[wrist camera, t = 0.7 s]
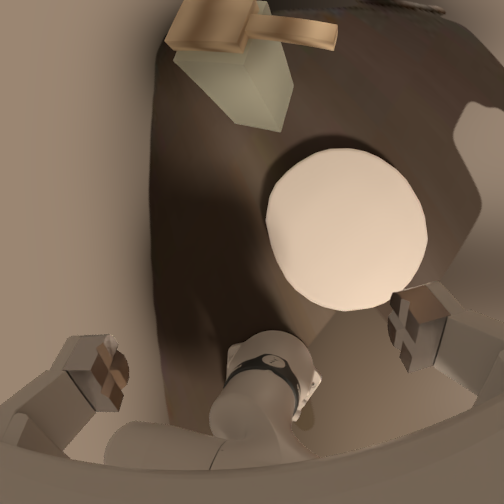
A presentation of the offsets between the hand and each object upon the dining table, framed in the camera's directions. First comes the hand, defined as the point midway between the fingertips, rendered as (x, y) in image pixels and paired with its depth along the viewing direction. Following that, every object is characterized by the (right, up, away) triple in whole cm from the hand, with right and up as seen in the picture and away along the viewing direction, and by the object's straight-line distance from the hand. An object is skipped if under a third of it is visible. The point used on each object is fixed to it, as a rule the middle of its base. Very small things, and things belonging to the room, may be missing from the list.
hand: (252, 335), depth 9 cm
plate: (+17, +6, +45) cm, 48 cm away
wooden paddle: (0, +27, +20) cm, 34 cm away
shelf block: (+2, +30, +46) cm, 55 cm away
